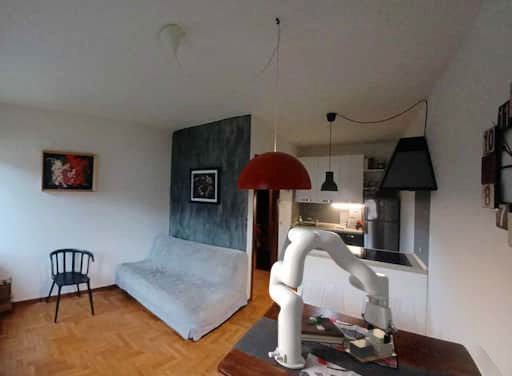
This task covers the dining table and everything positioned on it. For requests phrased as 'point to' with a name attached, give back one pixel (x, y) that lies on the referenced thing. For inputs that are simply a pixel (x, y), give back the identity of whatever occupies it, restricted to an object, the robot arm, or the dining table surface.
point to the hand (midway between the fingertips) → (378, 338)
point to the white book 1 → (376, 335)
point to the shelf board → (370, 357)
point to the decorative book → (320, 331)
